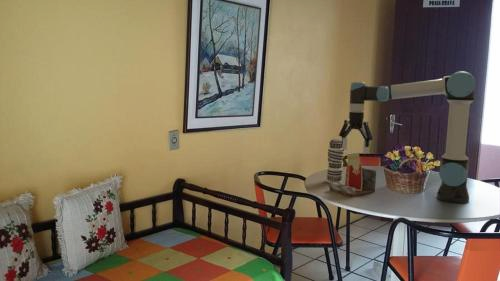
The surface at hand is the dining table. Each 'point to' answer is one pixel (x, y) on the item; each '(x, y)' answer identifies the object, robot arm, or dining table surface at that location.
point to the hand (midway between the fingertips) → (354, 151)
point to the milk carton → (354, 172)
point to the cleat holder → (367, 187)
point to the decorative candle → (335, 161)
